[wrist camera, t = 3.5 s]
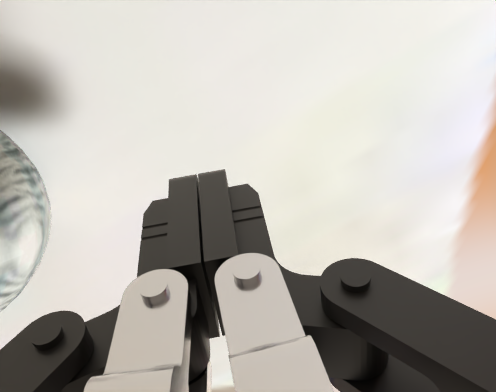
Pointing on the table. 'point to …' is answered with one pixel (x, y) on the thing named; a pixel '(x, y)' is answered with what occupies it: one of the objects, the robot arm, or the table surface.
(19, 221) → the spool
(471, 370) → the robot arm
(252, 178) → the table surface
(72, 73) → the table surface
